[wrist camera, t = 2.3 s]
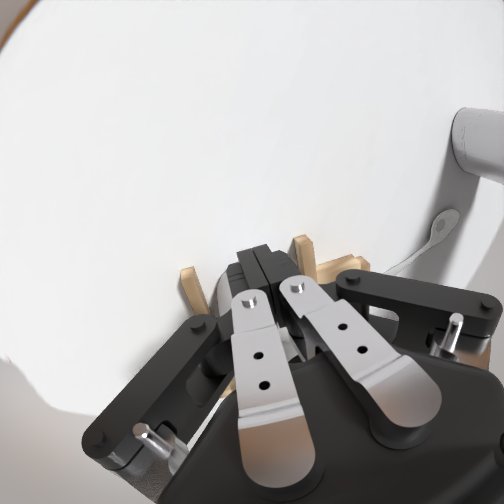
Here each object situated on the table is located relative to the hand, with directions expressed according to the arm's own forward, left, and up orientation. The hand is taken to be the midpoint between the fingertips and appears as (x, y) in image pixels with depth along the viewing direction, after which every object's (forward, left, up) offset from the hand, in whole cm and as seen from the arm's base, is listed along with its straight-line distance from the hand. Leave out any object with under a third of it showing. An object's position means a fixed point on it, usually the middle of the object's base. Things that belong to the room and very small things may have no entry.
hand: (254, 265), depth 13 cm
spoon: (-20, +12, -12) cm, 26 cm away
